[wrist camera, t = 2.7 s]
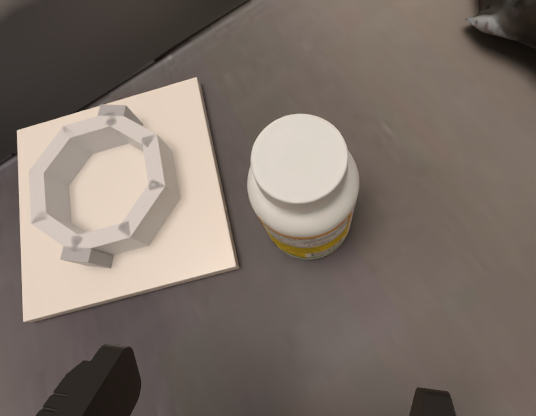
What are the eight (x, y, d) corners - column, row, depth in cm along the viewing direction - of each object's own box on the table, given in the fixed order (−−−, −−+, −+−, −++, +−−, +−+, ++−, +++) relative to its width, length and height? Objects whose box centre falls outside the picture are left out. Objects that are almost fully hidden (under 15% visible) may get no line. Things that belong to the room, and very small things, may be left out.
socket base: (200, 85, 29) (184, 54, 26) (239, 268, 24) (226, 259, 21) (26, 136, 30) (-11, 113, 26) (34, 321, 25) (-10, 321, 22)
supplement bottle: (332, 274, 24) (336, 243, 15) (253, 241, 25) (211, 193, 16) (363, 195, 25) (384, 121, 16) (286, 168, 26) (264, 84, 17)
